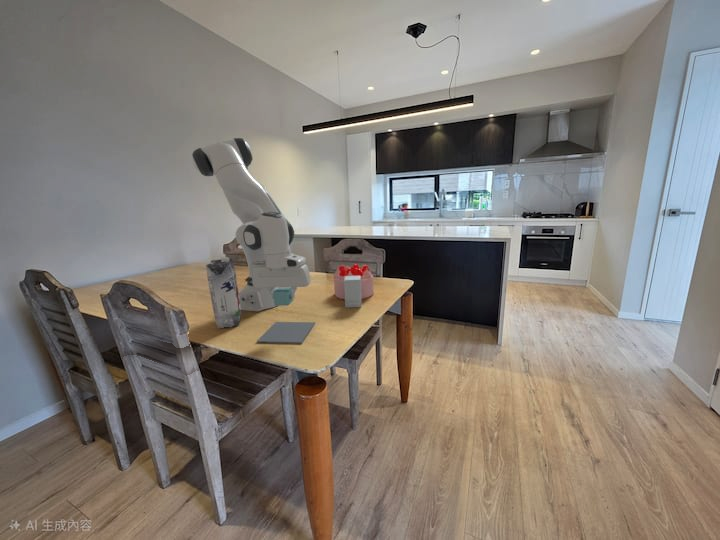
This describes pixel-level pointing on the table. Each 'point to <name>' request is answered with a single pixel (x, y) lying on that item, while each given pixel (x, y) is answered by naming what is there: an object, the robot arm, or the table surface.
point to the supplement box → (352, 291)
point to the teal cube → (282, 296)
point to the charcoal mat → (287, 332)
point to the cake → (364, 272)
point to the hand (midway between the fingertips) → (283, 298)
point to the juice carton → (224, 292)
